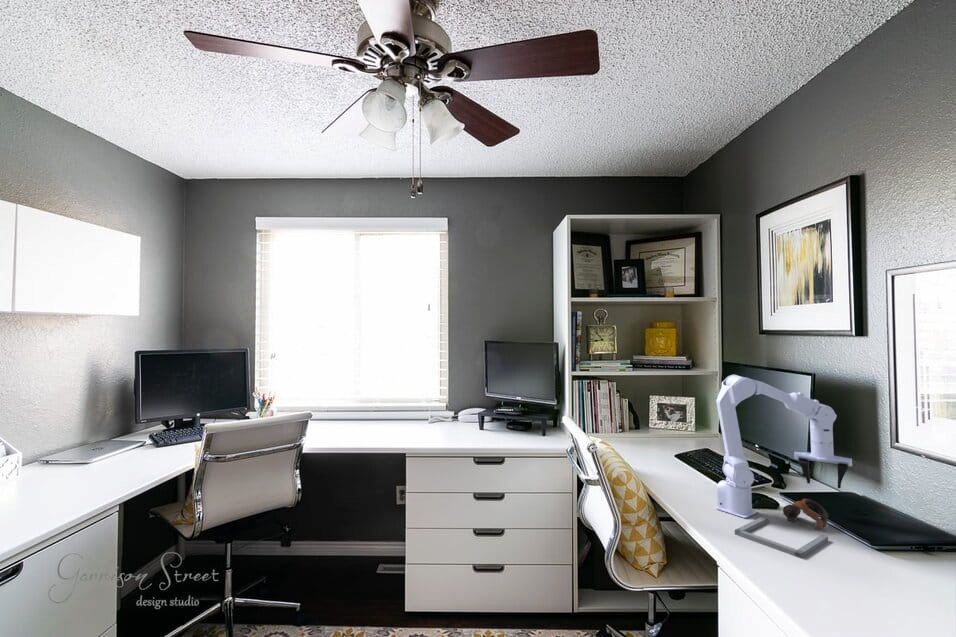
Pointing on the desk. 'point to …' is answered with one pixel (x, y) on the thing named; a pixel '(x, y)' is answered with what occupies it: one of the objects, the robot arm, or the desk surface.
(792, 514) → the orange curved piece
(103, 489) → the desk surface
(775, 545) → the frame
